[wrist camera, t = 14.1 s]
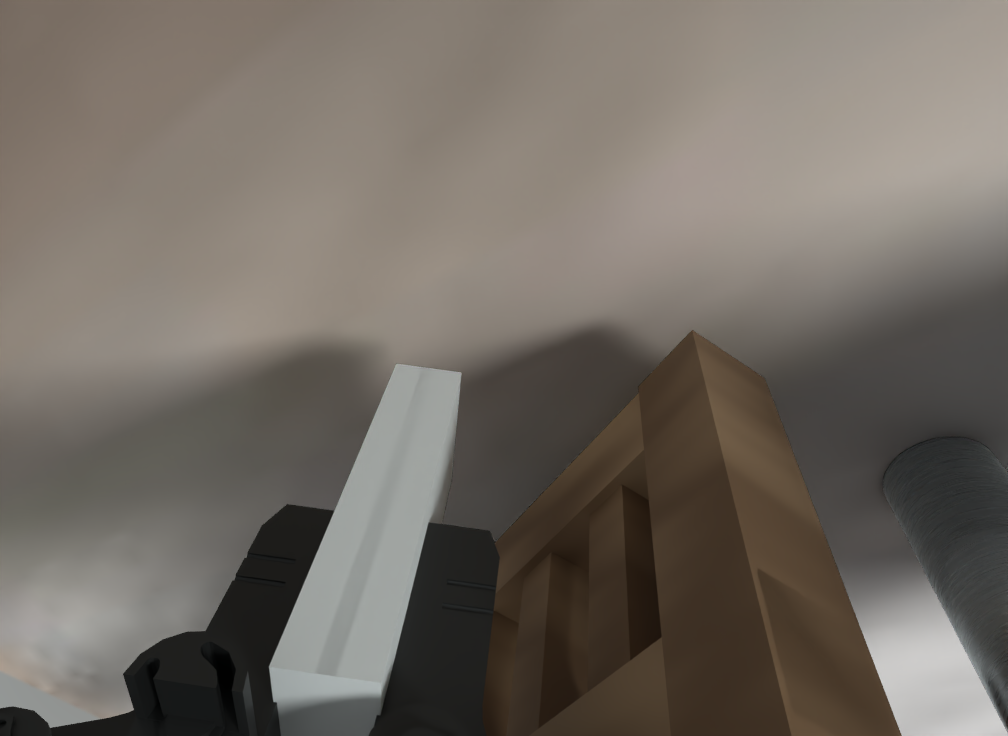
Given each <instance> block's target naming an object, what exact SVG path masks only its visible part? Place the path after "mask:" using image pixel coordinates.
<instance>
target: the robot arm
mask: <svg viewBox="0 0 1008 736" xmlns="http://www.w3.org/2000/svg"><path fill="white" fill-rule="evenodd" d="M460 383H461V372H455V371H447V370H440V369H433V368H425V367H418V366H411V365H404V364H396V366H395V368H394V370H393V373H392V375H391V378H390V380H389V382H388V385H387V387H386V389H385V392H384V394H383V397H382V399H381V401H380V404H379V406H378V409H377V411H376V413H375V416H374V418H373V420H372V423H371V425H370V428H369V430H368V432H367V435H366V437H365V439H364V442H363V444H362V447H361V449H360V451H359V454H358V456H357V459H356V461H355V463H354V466H353V468H352V470H351V473H350V475H349V478H348V480H347V482H346V485H345V487H344V489H343V492H342V494H341V497H340V499H339V501H338V504H337V506H336V509H335V511H331V510H324V509H317V508H310V507H303V506H296V505H288V504H287V505H286V506H285V507H283V508H282V509H281V510H280V511H279V512H278V513H276V514H275V515H274V516H273V517H272V518H270V519H269V520H268V521H267V522H266V523H265V524H263V525H262V527H261V529H260V530H259V532H258V534H257V536H256V538H255V540H254V542H253V544H252V545H251V547H250V549H249V551H248V555H247V558H245V559H244V560H243V562H242V564H241V566H240V568H239V570H238V572H237V573H236V578H235V580H234V581H232V583H231V585H230V587H229V588H228V590H227V592H226V594H225V596H224V598H223V600H222V602H221V603H220V605H219V607H218V609H217V611H216V613H215V615H214V617H213V618H212V620H211V622H210V624H209V626H208V628H207V630H206V631H201V632H185V633H182V634H179V635H176V636H173V637H169V638H166V639H163V640H161V641H160V642H158V643H157V644H155V645H154V646H152V647H151V648H149V649H148V650H146V651H145V652H143V653H141V654H140V655H139V656H138V657H137V659H136V660H135V661H134V662H133V663H132V664H131V665H130V667H129V668H128V669H127V670H126V671H125V672H124V674H123V675H124V679H125V682H126V685H127V688H128V691H129V695H130V698H131V701H132V704H133V708H134V710H133V711H131V712H129V713H125V714H122V715H118V716H114V717H111V718H106V719H100V720H94V721H88V722H83V723H77V724H71V725H65V726H59V727H53V728H50V727H49V725H48V723H47V722H46V721H45V720H44V719H43V718H41V717H40V716H39V715H38V714H37V713H36V712H35V711H32V710H28V709H22V708H17V707H6V708H1V709H0V736H487V735H486V732H485V728H484V724H483V708H482V705H483V696H484V688H485V679H486V671H487V662H488V654H489V645H490V637H491V628H492V620H493V611H494V603H495V594H496V586H497V577H498V569H499V560H500V556H499V554H498V551H497V548H496V546H495V543H494V540H493V538H492V535H491V533H490V531H487V530H480V529H473V528H466V527H458V526H451V525H444V524H442V521H443V517H444V513H445V508H446V504H447V499H448V495H449V490H450V486H451V481H452V474H453V462H454V451H455V440H456V428H457V417H458V406H459V394H460Z"/></svg>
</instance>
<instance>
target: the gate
mask: <svg viewBox="0 0 1008 736" xmlns="http://www.w3.org/2000/svg"><path fill="white" fill-rule="evenodd" d="M638 390H639V393H638V394H637V395H636V396H635V397H634V398H633V399H632V400H631V401H630V403H629V404H628V405H627V406H626V407H625V408H624V409H623V410H622V411H621V412H620V413H619V414H618V415H617V416H616V417H615V418H614V419H613V420H612V421H611V422H610V423H609V424H608V425H607V427H606V428H605V429H604V430H603V431H602V432H601V433H600V434H599V435H598V436H597V437H596V438H595V439H594V440H593V441H592V442H591V443H590V444H589V445H588V446H587V447H586V448H585V449H584V451H583V452H582V453H581V454H580V455H579V456H578V457H577V458H576V459H575V460H574V461H573V462H572V463H571V464H570V465H569V466H568V467H567V468H566V469H565V470H564V471H563V472H562V473H561V475H560V476H559V477H558V478H557V479H556V480H555V481H554V482H553V483H552V484H551V485H550V486H549V487H548V488H547V489H546V490H545V491H544V492H543V493H542V494H541V495H540V496H539V497H538V499H537V500H536V501H535V502H534V503H533V504H532V505H531V506H530V507H529V508H528V509H527V510H526V511H525V512H524V513H523V514H522V515H521V516H520V517H519V518H518V519H517V520H516V521H515V523H514V524H513V525H512V526H511V527H510V528H509V529H508V530H507V531H506V532H505V533H504V534H503V535H502V536H501V537H500V538H499V539H498V540H497V541H496V542H495V546H496V548H497V551H498V554H499V556H500V560H499V569H498V577H497V586H496V594H495V603H494V611H493V620H492V628H491V637H490V645H489V654H488V662H487V671H486V679H485V688H484V696H483V705H482V708H483V724H484V728H485V732H486V735H487V736H901V733H900V730H899V728H898V725H897V722H896V720H895V717H894V715H893V712H892V709H891V707H890V704H889V702H888V699H887V696H886V694H885V691H884V689H883V686H882V683H881V681H880V678H879V675H878V673H877V670H876V668H875V665H874V662H873V660H872V657H871V655H870V652H869V649H868V647H867V644H866V641H865V639H864V636H863V634H862V631H861V628H860V626H859V623H858V621H857V618H856V615H855V613H854V610H853V608H852V605H851V602H850V600H849V597H848V594H847V592H846V589H845V587H844V584H843V581H842V579H841V576H840V574H839V571H838V568H837V566H836V563H835V561H834V558H833V555H832V553H831V550H830V547H829V545H828V542H827V540H826V537H825V534H824V532H823V529H822V527H821V524H820V521H819V519H818V516H817V513H816V511H815V508H814V506H813V503H812V500H811V498H810V495H809V493H808V490H807V487H806V485H805V482H804V480H803V477H802V474H801V472H800V469H799V466H798V464H797V461H796V459H795V456H794V453H793V451H792V448H791V446H790V443H789V440H788V438H787V435H786V433H785V430H784V427H783V425H782V422H781V419H780V417H779V414H778V412H777V409H776V406H775V404H774V401H773V399H772V396H771V393H770V391H769V388H768V385H767V383H766V380H765V378H763V377H762V376H760V375H759V374H757V373H756V372H754V371H753V370H751V369H750V368H748V367H747V366H745V365H744V364H742V363H741V362H739V361H738V360H736V359H735V358H733V357H732V356H730V355H729V354H727V353H726V352H724V351H723V350H721V349H720V348H718V347H717V346H715V345H714V344H712V343H711V342H709V341H708V340H706V339H705V338H703V337H702V336H700V335H699V334H697V333H696V332H694V331H693V330H692V331H691V332H690V333H689V334H688V335H687V336H686V337H685V338H684V339H683V340H682V341H681V342H680V343H679V344H678V345H677V347H676V348H675V349H674V350H673V351H672V352H671V353H670V354H669V355H668V356H667V357H666V358H665V359H664V360H663V361H662V362H661V363H660V364H659V365H658V366H657V368H656V369H655V370H654V371H653V372H652V373H651V374H650V375H649V376H648V377H647V378H646V379H645V380H644V381H643V382H642V383H641V384H640V385H639V386H638Z"/></svg>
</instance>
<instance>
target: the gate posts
mask: <svg viewBox="0 0 1008 736" xmlns="http://www.w3.org/2000/svg"><path fill="white" fill-rule="evenodd" d="M883 491H884V495H885V497H886V499H887V501H888V503H889V504H890V506H891V508H892V510H893V512H894V514H895V516H896V518H897V520H898V522H899V524H900V526H901V528H902V530H903V532H904V533H905V535H906V537H907V539H908V541H909V543H910V545H911V547H912V549H913V551H914V553H915V555H916V557H917V559H918V560H919V562H920V564H921V566H922V568H923V570H924V572H925V574H926V576H927V578H928V580H929V582H930V584H931V586H932V588H933V589H934V591H935V593H936V595H937V597H938V599H939V601H940V603H941V605H942V607H943V609H944V611H945V613H946V615H947V617H948V618H949V620H950V622H951V624H952V626H953V628H954V630H955V632H956V634H957V636H958V638H959V640H960V642H961V644H962V645H963V647H964V649H965V651H966V653H967V655H968V657H969V659H970V661H971V663H972V665H973V667H974V669H975V671H976V673H977V674H978V676H979V678H980V680H981V682H982V684H983V686H984V688H985V690H986V692H987V694H988V696H989V698H990V700H991V702H992V703H993V705H994V707H995V709H996V711H997V713H998V715H999V717H1000V719H1001V721H1002V723H1003V725H1004V727H1005V729H1006V730H1007V732H1008V472H1007V471H1006V470H1005V469H1004V467H1003V466H1002V465H1001V463H1000V462H999V461H998V459H997V458H996V457H995V456H994V454H993V453H992V452H991V451H990V450H989V449H988V448H987V447H986V446H984V445H983V444H981V443H979V442H977V441H974V440H971V439H967V438H961V437H943V438H937V439H932V440H928V441H925V442H922V443H919V444H917V445H915V446H913V447H911V448H909V449H908V450H906V451H904V452H903V453H902V454H900V455H899V456H898V457H897V458H896V459H895V460H894V461H893V462H892V463H891V464H890V466H889V467H888V469H887V471H886V473H885V475H884V478H883Z"/></svg>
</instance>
